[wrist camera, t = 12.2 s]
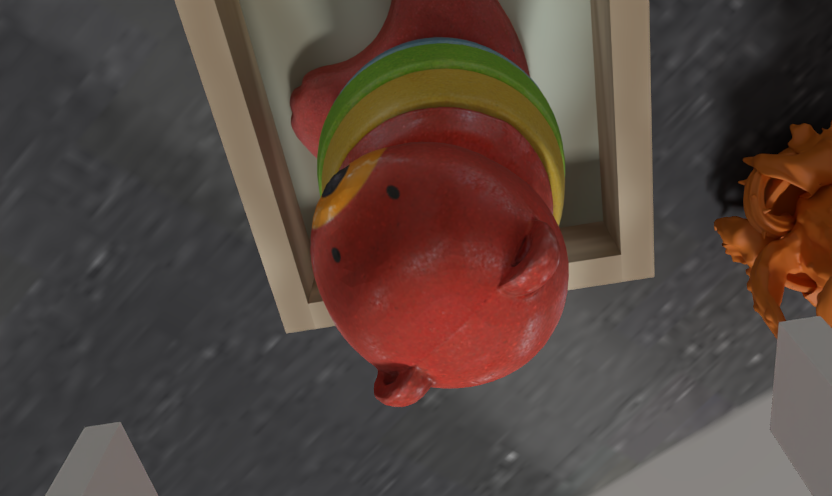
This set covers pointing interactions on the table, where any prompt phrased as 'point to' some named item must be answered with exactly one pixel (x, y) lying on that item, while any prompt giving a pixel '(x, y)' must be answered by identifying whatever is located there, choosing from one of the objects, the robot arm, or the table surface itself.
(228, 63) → the open wooden box
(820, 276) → the toy dinosaur
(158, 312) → the table surface
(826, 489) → the robot arm
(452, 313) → the stacking bear
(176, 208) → the table surface
